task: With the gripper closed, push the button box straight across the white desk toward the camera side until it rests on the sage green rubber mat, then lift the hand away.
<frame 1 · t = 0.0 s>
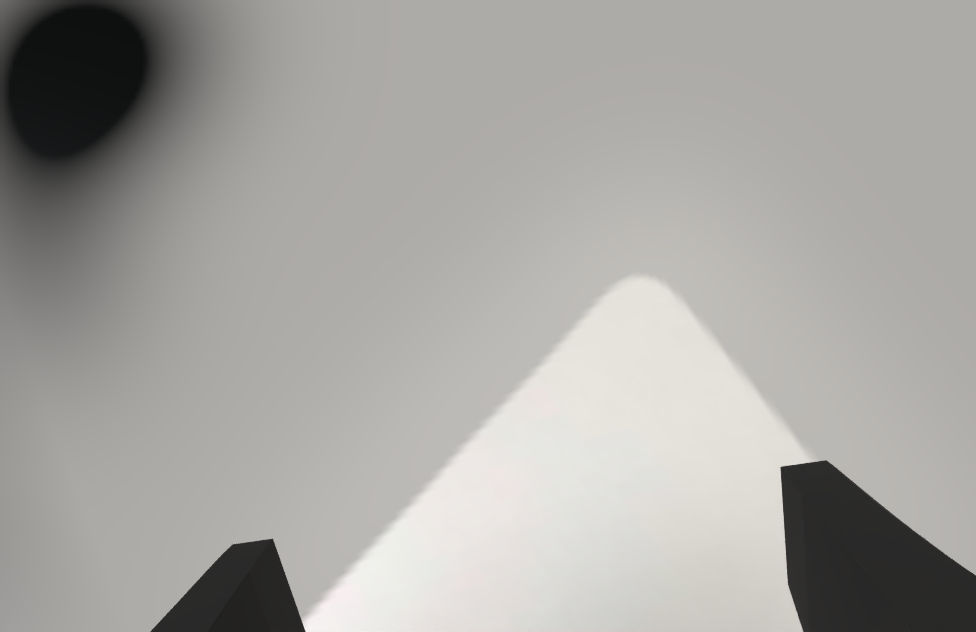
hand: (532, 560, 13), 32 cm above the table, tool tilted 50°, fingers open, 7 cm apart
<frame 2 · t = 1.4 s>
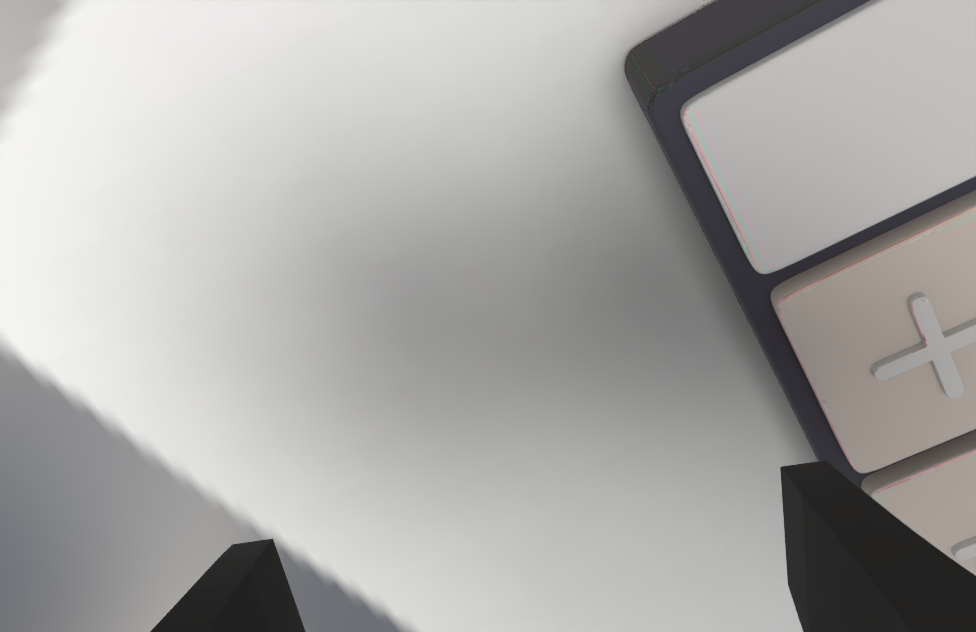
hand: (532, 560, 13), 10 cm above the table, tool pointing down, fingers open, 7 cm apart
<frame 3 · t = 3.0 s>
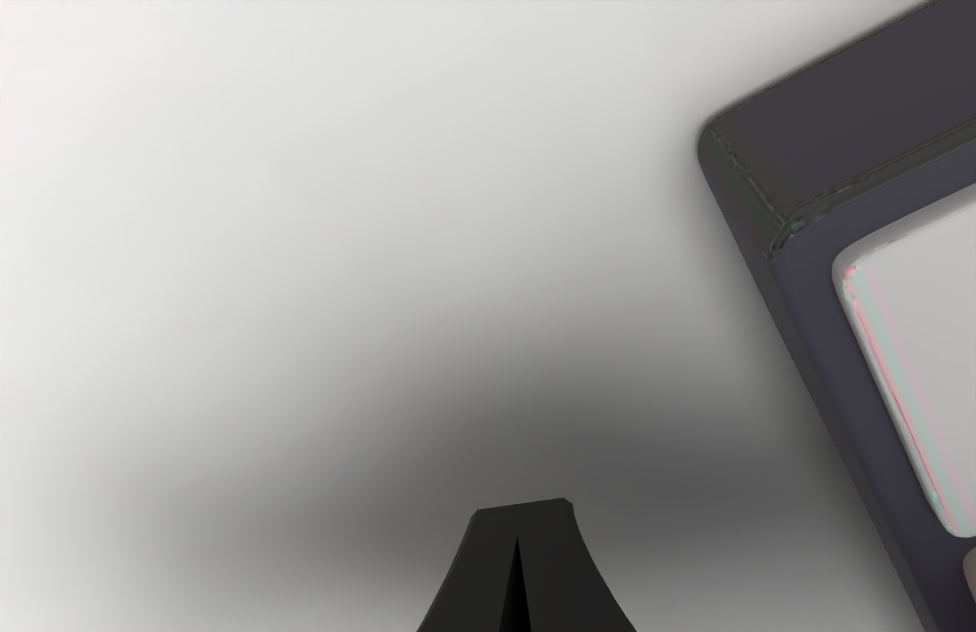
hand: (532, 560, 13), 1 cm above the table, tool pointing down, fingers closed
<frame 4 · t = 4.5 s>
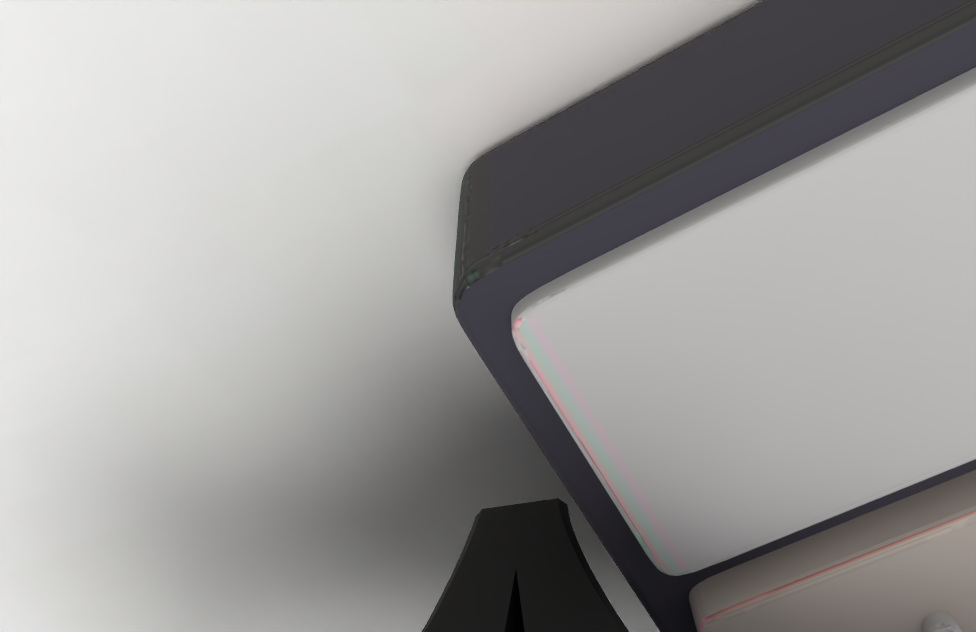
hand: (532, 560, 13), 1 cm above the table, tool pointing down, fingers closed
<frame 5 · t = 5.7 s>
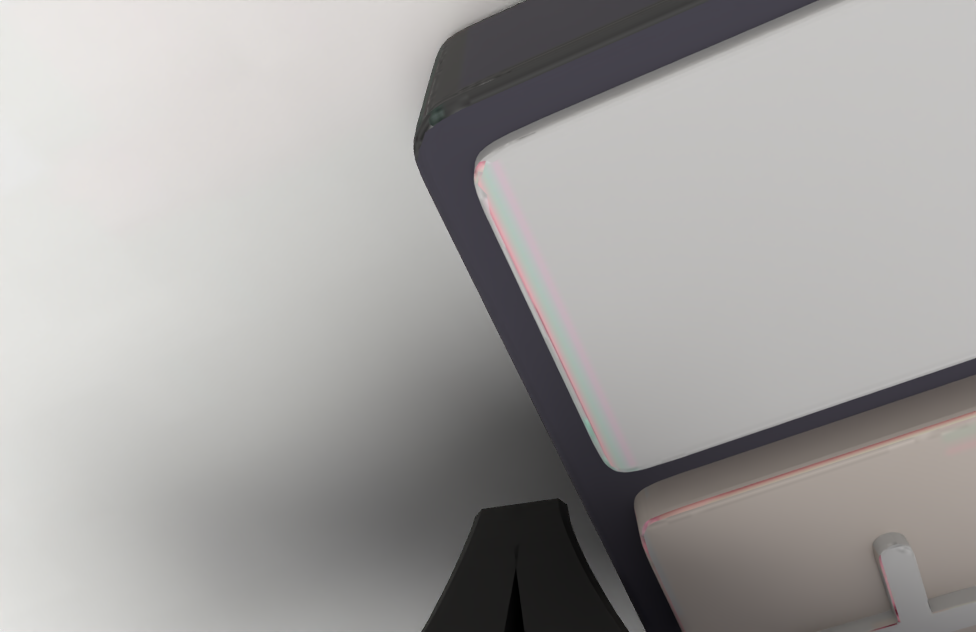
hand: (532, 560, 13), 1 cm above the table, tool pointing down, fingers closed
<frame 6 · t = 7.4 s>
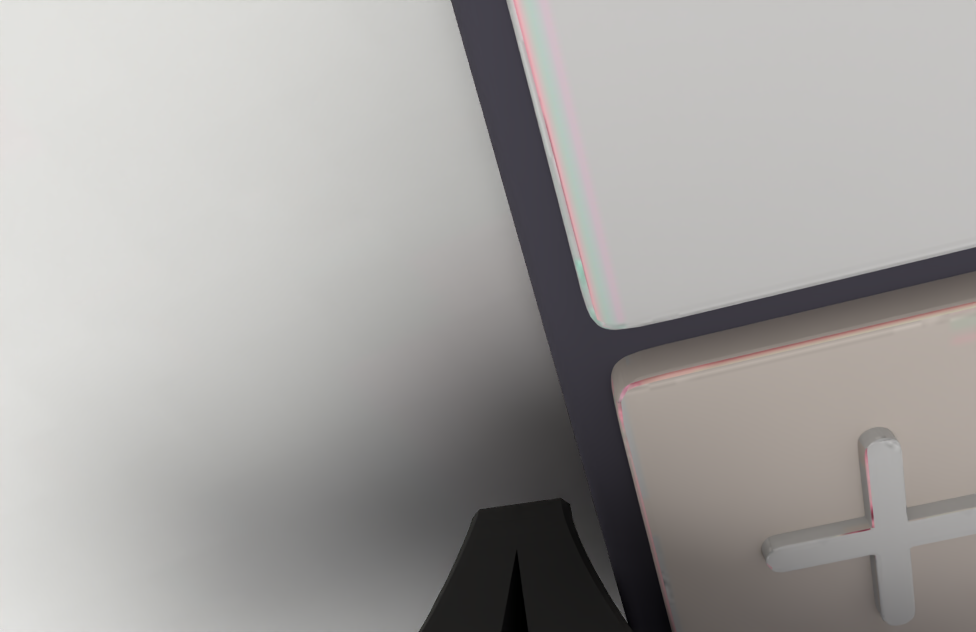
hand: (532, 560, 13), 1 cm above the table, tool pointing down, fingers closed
button box: (966, 328, 13), resting on mat
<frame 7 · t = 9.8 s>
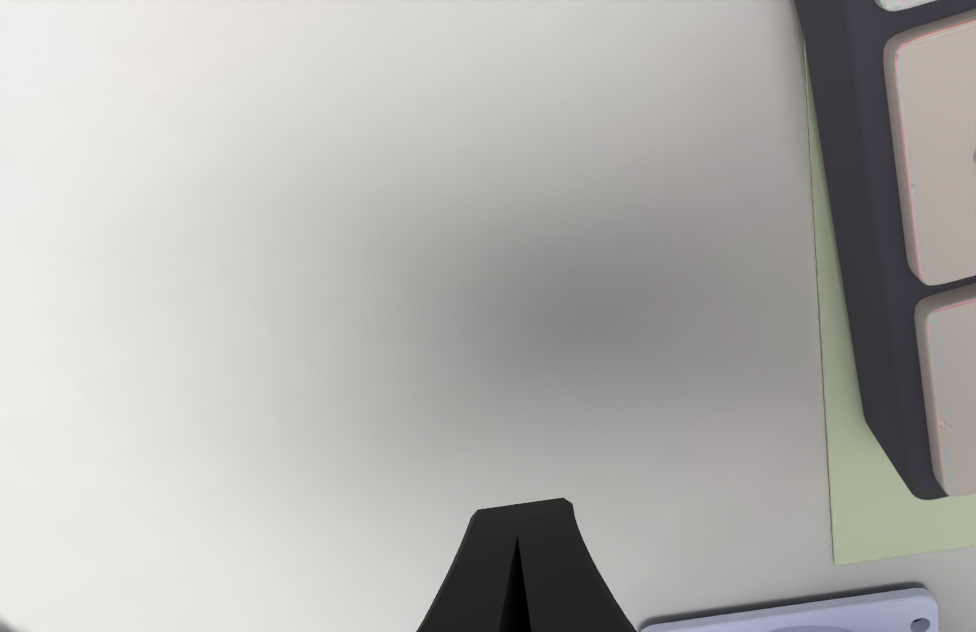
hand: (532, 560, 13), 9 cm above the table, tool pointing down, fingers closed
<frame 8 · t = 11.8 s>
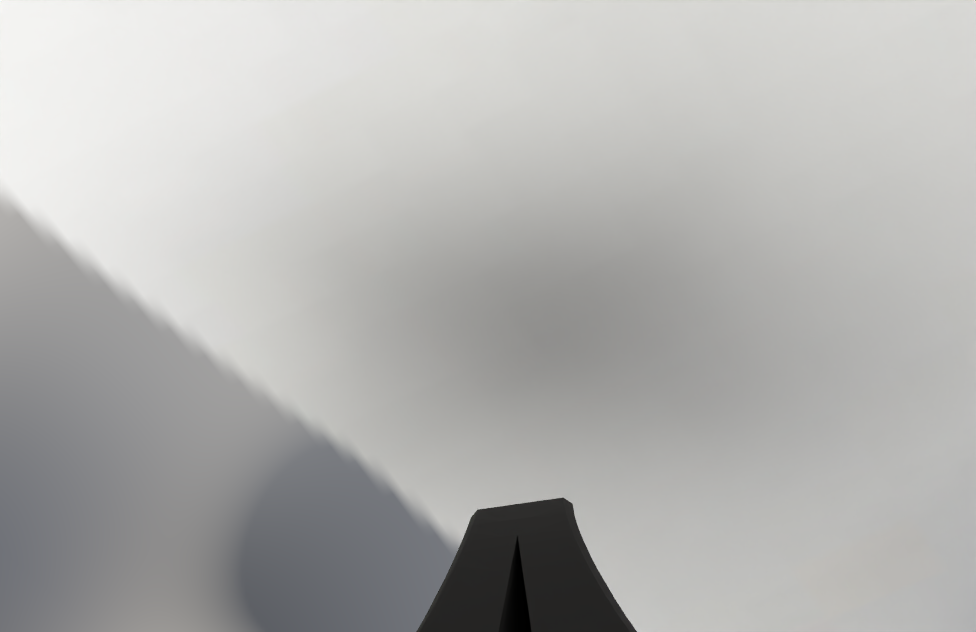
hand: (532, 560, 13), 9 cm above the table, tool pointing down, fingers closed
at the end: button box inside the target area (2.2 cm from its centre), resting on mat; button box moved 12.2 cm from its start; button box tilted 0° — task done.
